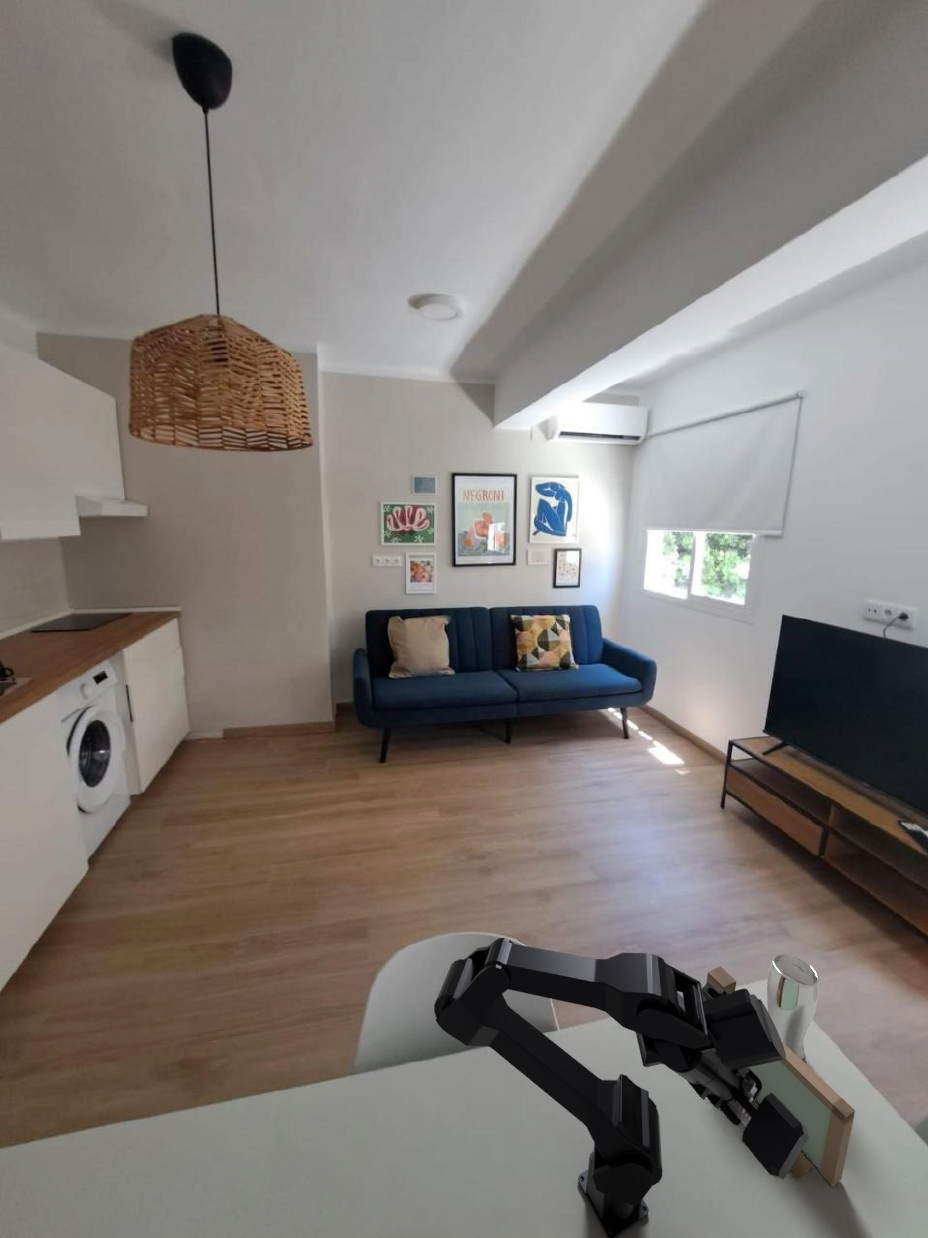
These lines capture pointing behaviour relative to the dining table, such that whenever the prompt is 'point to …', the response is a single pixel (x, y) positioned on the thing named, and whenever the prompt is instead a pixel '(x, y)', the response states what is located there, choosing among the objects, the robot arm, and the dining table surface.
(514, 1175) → the dining table surface
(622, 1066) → the dining table surface
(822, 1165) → the board
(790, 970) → the beer glass
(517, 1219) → the dining table surface
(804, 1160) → the gate frame
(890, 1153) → the dining table surface
